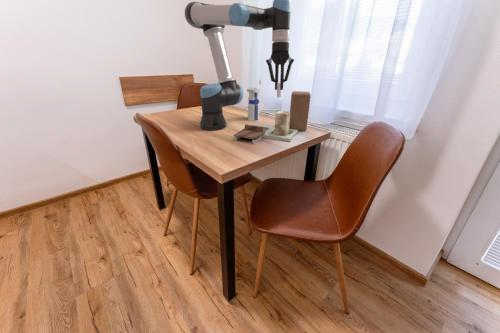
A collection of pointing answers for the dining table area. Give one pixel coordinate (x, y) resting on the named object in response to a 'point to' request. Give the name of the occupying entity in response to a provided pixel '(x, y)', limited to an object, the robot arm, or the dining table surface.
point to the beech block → (282, 123)
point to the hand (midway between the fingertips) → (278, 97)
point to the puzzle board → (268, 134)
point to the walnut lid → (250, 132)
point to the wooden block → (299, 110)
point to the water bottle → (253, 103)
